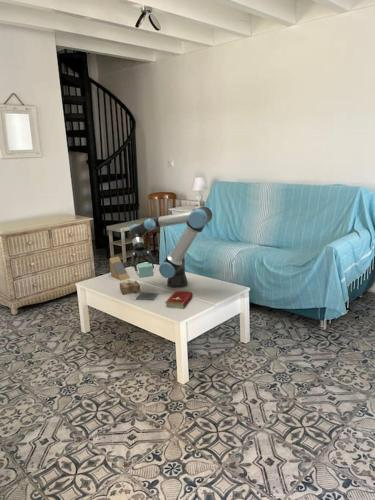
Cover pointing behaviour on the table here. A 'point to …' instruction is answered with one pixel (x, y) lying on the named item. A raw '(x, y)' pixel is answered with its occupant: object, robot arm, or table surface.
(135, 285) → the walnut box
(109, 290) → the table surface
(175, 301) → the hardcover book
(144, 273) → the mint green cube
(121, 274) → the sandwich container
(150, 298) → the mat
